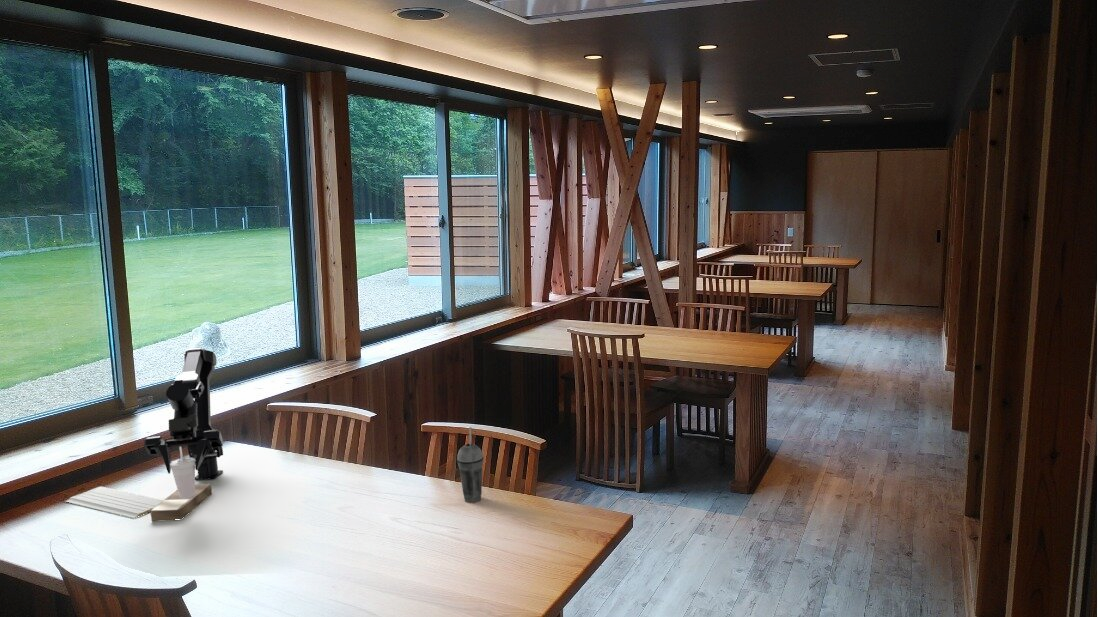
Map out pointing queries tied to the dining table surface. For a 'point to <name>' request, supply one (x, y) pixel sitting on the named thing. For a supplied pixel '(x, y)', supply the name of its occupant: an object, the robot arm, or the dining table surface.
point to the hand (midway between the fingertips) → (182, 471)
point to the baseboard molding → (115, 501)
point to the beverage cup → (471, 471)
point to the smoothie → (184, 475)
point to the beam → (180, 504)
